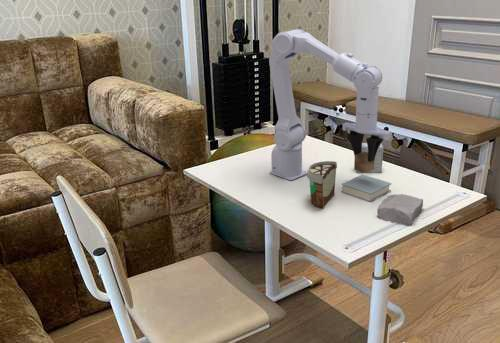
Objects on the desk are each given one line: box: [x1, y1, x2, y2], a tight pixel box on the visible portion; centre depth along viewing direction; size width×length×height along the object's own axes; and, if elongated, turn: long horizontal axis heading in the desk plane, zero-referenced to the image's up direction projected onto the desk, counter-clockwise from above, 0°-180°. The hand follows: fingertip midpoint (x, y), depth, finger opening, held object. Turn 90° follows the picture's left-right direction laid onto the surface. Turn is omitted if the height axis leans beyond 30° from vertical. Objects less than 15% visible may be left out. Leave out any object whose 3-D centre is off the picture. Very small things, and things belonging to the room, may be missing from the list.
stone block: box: [376, 193, 424, 226], centre depth 129 cm, size 12×5×10 cm
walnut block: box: [353, 152, 375, 174], centre depth 141 cm, size 4×4×4 cm
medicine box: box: [355, 142, 384, 174], centre depth 156 cm, size 8×4×9 cm, turn 84°
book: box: [341, 173, 392, 203], centre depth 142 cm, size 10×10×2 cm
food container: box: [306, 160, 338, 210], centre depth 137 cm, size 12×6×10 cm, turn 152°
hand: (364, 158), depth 141 cm, fingers closed on walnut block, 4 cm apart
